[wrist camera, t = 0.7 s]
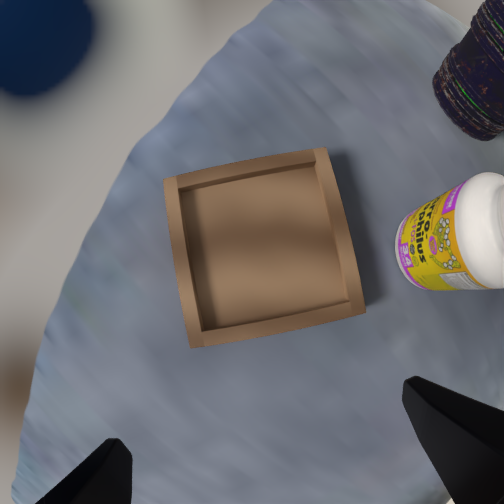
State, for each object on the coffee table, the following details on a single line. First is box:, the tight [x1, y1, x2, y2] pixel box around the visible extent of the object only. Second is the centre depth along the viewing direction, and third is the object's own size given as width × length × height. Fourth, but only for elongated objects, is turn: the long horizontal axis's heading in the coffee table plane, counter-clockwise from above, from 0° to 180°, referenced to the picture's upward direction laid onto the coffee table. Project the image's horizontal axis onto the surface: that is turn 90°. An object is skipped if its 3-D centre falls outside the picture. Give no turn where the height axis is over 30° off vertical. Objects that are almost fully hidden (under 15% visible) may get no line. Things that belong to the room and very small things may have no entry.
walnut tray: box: [163, 147, 366, 348], centre depth 21 cm, size 12×12×2 cm
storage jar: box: [432, 0, 504, 141], centre depth 16 cm, size 10×10×15 cm
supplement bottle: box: [395, 172, 504, 290], centre depth 15 cm, size 7×7×13 cm
